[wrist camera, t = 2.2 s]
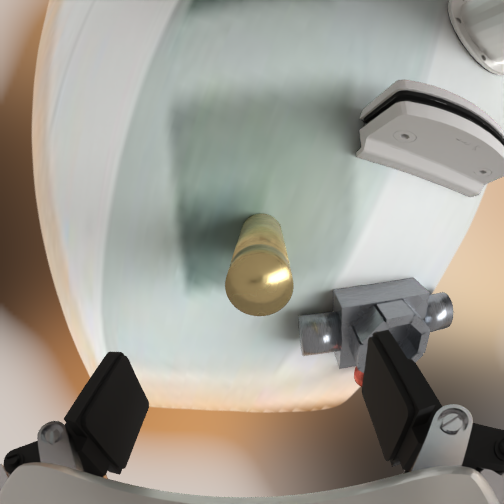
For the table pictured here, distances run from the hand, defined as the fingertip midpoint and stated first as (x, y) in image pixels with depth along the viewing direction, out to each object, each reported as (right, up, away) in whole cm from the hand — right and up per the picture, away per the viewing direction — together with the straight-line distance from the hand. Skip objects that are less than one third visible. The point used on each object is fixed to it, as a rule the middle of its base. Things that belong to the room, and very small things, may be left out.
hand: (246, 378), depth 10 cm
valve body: (+15, -4, +21) cm, 26 cm away
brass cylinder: (+1, +6, +18) cm, 19 cm away
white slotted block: (+19, +16, +14) cm, 29 cm away
